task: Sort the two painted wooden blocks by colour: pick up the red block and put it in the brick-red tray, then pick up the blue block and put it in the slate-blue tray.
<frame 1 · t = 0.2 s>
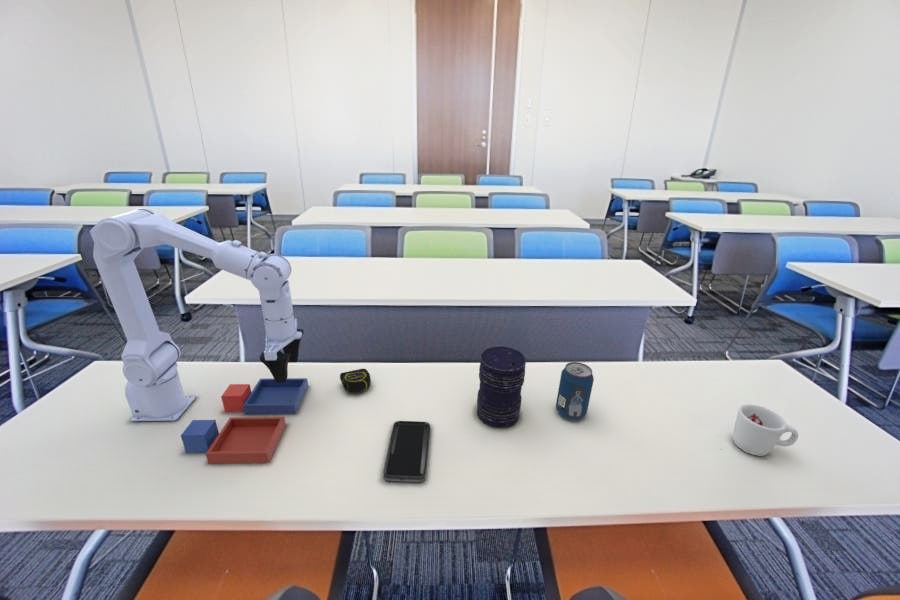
hand: (287, 371, 87), 10 cm above the table, tool pointing down, fingers open, 7 cm apart
red tray: (249, 443, 80), on the table
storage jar: (497, 414, 91), on the table
red block: (239, 405, 91), on the table
phone: (408, 451, 79), on the table
soda can: (570, 413, 92), on the table
blue block: (203, 444, 79), on the table
blue tray: (278, 399, 93), on the table
cup: (757, 449, 83), on the table
tape measure: (355, 387, 99), on the table
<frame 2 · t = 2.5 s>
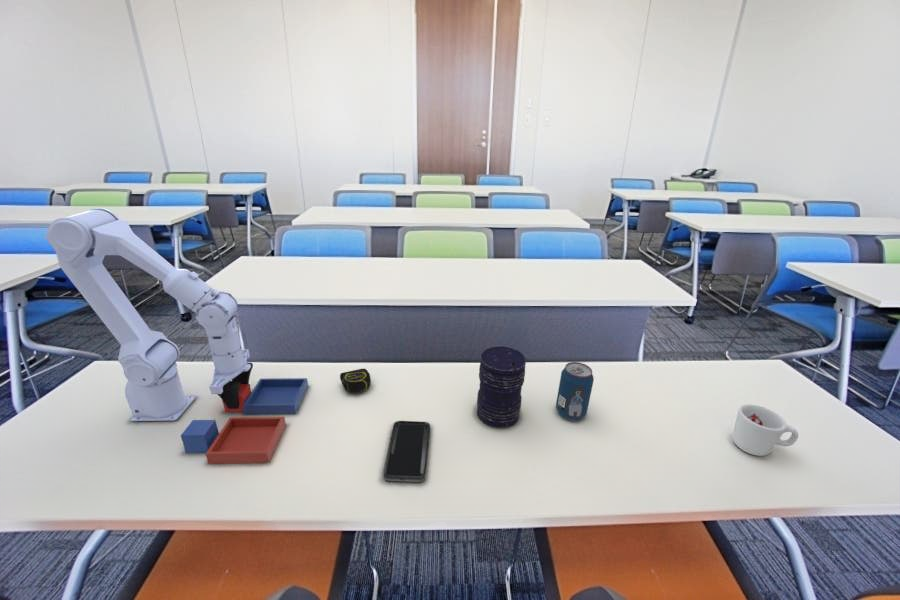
hand: (238, 400, 90), 1 cm above the table, tool pointing down, fingers closed on red block, 4 cm apart
red block: (239, 405, 91), on the table, touching gripper
everything else where it was.
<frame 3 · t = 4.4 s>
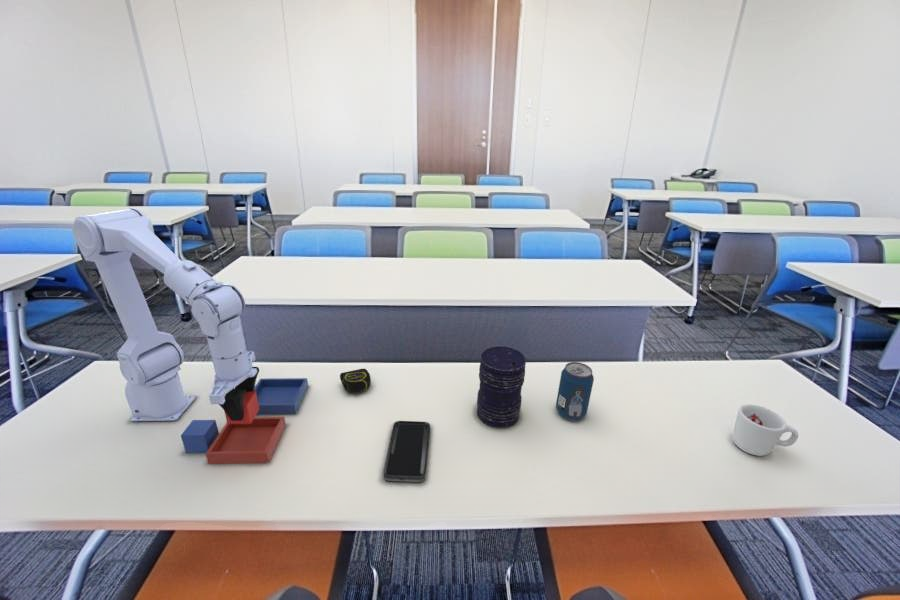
hand: (242, 411, 78), 7 cm above the table, tool pointing down, fingers closed on red block, 4 cm apart
red block: (243, 416, 79), point 6 cm above the table, touching gripper
everything else where it was.
when the fingers open (2 cm above the table, at t = 6.4 s): red block stays where it is, resting on red tray.
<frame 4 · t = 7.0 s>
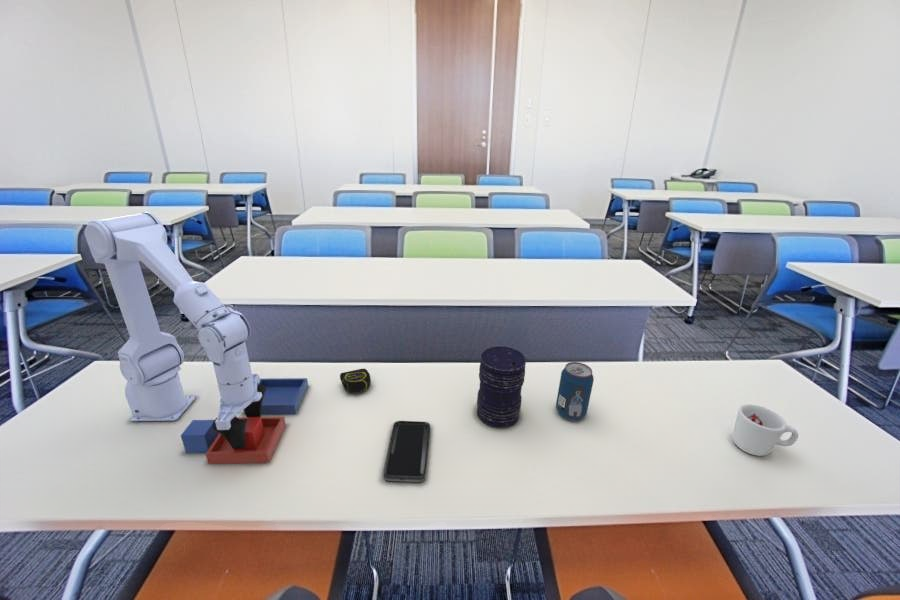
hand: (247, 433, 79), 3 cm above the table, tool pointing down, fingers open, 7 cm apart
red block: (249, 441, 80), resting on red tray
everything else where it was.
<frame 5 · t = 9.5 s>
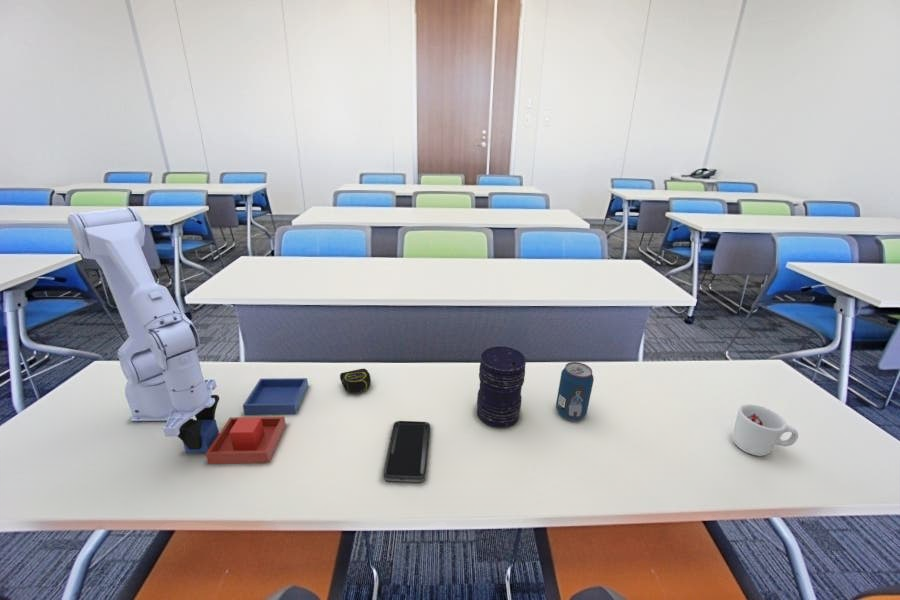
hand: (201, 439, 79), 1 cm above the table, tool pointing down, fingers closed on blue block, 4 cm apart
blue block: (203, 444, 80), on the table, touching gripper
everything else where it was.
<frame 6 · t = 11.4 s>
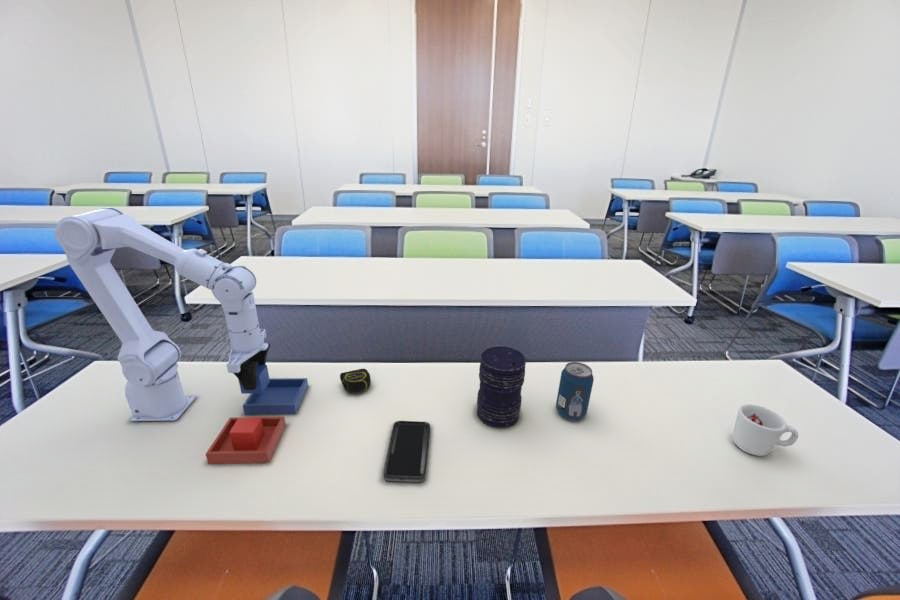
hand: (254, 382, 86), 8 cm above the table, tool pointing down, fingers closed on blue block, 4 cm apart
blue block: (256, 387, 87), point 6 cm above the table, touching gripper
everything else where it was.
when the fingers open (2 cm above the table, at t = 13.7 s): blue block stays where it is, resting on blue tray.
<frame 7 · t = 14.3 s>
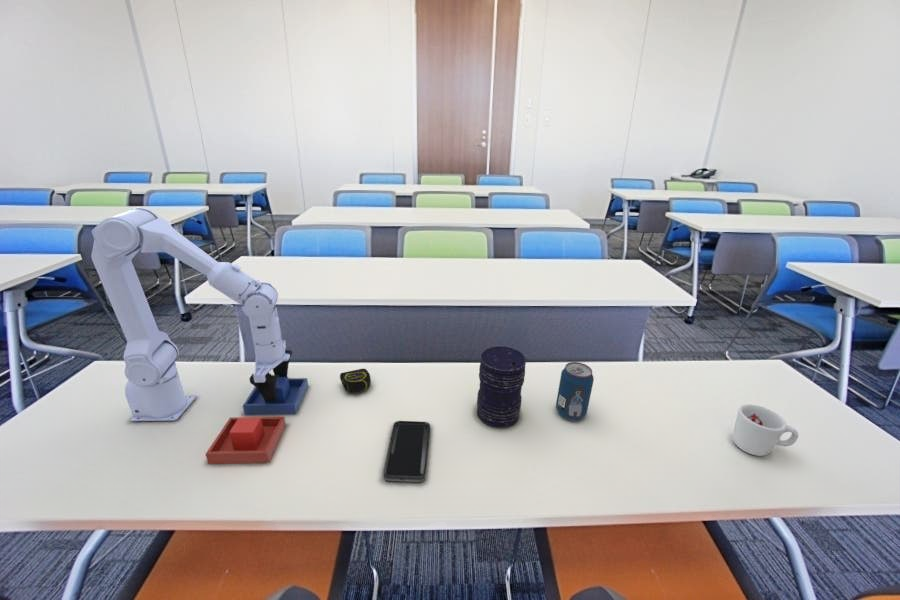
hand: (276, 390, 92), 3 cm above the table, tool pointing down, fingers open, 7 cm apart
blue block: (278, 398, 93), resting on blue tray
everything else where it was.
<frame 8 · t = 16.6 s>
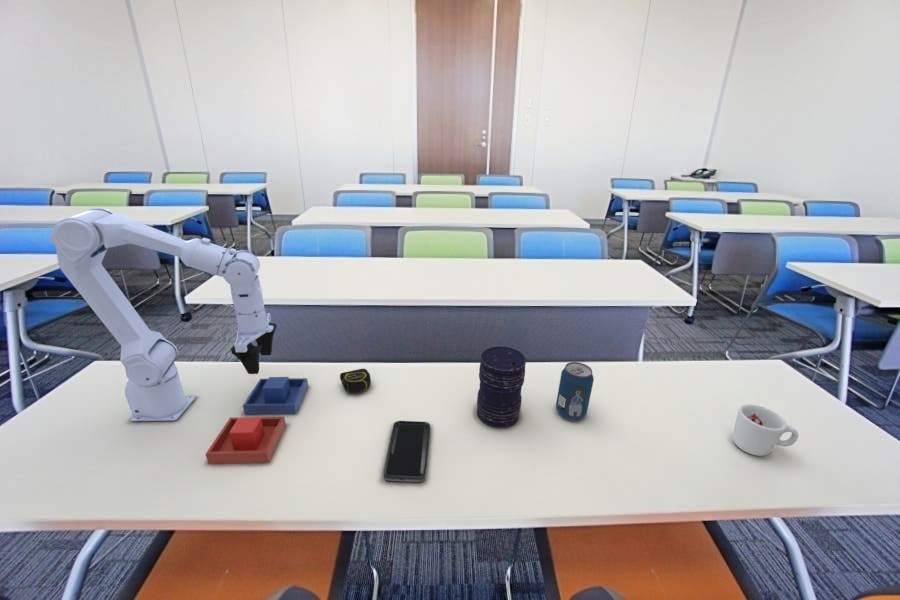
hand: (260, 363, 90), 9 cm above the table, tool pointing down, fingers open, 7 cm apart
nothing on the table moved.
at the end: red block inside the target area in the red tray (0.1 cm from its centre), point 0.5 cm above the red tray's base; blue block inside the target area in the blue tray (0.1 cm from its centre), point 0.5 cm above the blue tray's base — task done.
